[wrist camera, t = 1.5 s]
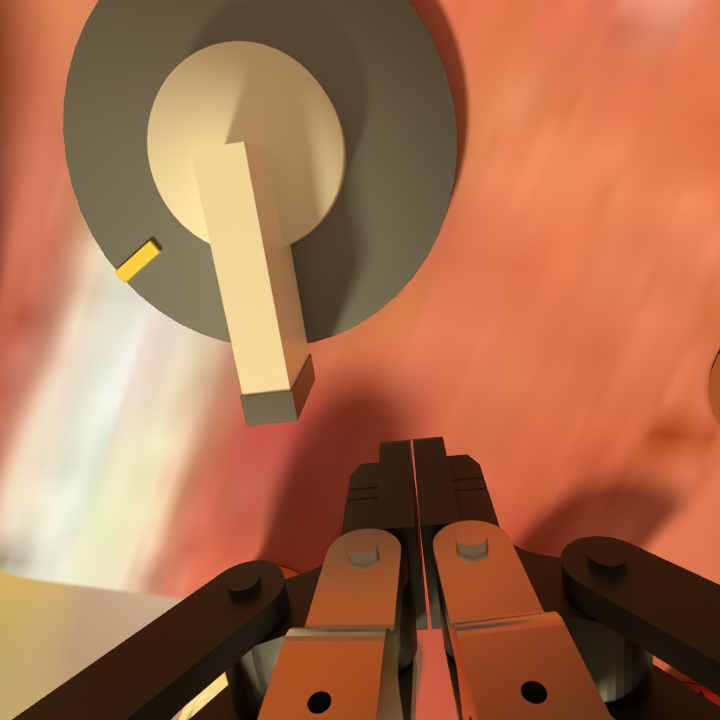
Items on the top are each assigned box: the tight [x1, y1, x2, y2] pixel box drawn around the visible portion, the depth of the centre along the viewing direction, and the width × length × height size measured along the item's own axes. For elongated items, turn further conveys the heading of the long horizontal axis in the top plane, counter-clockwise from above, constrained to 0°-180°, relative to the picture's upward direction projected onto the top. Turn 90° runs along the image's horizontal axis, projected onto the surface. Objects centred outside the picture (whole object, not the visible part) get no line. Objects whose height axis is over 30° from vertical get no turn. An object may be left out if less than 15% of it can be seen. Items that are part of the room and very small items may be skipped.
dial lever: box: [147, 41, 347, 426], centre depth 27 cm, size 18×10×7 cm, turn 8°
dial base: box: [63, 0, 457, 343], centre depth 30 cm, size 22×22×2 cm
